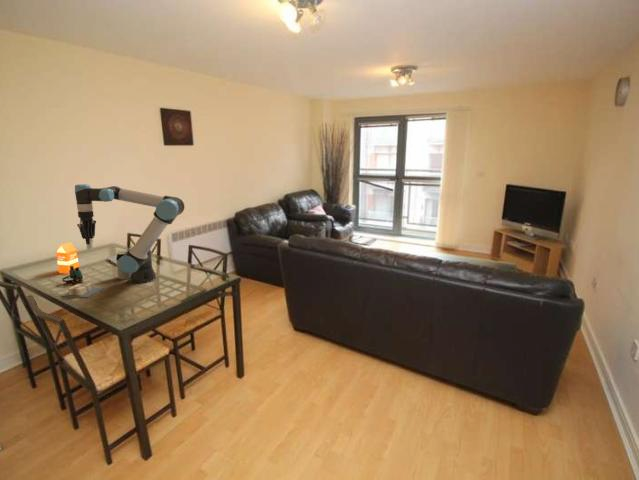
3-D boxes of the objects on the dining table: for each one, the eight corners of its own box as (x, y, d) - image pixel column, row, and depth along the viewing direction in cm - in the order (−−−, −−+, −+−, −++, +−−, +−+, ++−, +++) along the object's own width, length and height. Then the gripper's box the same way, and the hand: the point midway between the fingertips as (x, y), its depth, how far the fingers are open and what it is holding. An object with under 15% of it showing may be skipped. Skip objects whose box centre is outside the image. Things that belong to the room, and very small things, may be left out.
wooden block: (90, 284, 198) (80, 289, 191) (90, 290, 199) (81, 295, 192) (78, 283, 199) (68, 288, 191) (79, 289, 200) (69, 295, 192)
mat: (104, 288, 204) (104, 287, 204) (88, 298, 191) (88, 297, 190) (78, 287, 204) (78, 286, 204) (61, 296, 191) (60, 295, 191)
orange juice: (79, 269, 235) (75, 242, 230) (69, 273, 227) (65, 245, 222) (69, 268, 236) (65, 241, 231) (58, 272, 227) (54, 244, 222)
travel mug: (125, 280, 219) (123, 254, 215) (115, 279, 220) (112, 253, 216) (134, 276, 227) (132, 251, 222) (124, 275, 228) (122, 250, 224)
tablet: (127, 256, 271) (127, 253, 271) (142, 263, 256) (141, 260, 255) (105, 260, 259) (105, 257, 258) (119, 267, 243) (118, 264, 243)
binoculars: (57, 270, 204) (72, 264, 213) (61, 286, 208) (76, 279, 217) (68, 272, 202) (83, 266, 211) (72, 288, 205) (86, 281, 214)
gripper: (86, 208, 202) (91, 246, 208) (70, 212, 190) (76, 251, 195) (99, 209, 202) (103, 246, 208) (83, 212, 189) (88, 252, 195)
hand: (90, 248), depth 201 cm, fingers closed
